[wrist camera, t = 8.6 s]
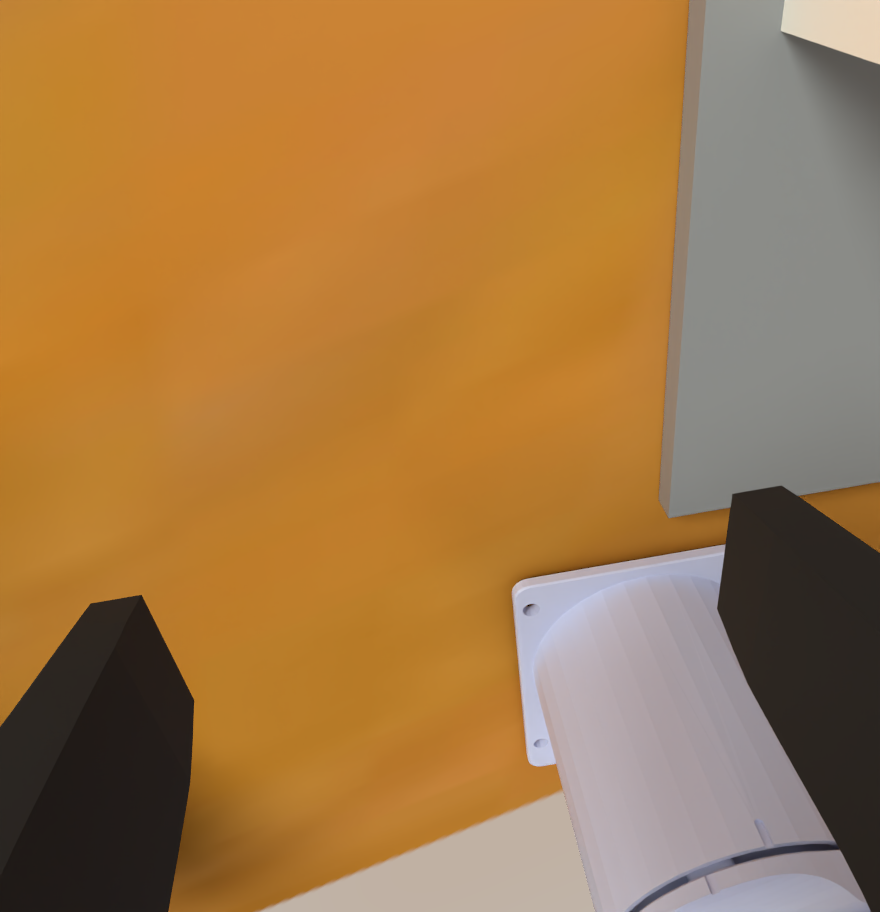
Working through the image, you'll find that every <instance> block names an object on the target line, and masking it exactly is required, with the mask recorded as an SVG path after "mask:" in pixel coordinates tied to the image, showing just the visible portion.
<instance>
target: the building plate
mask: <svg viewBox="0 0 880 912" xmlns="http://www.w3.org/2000/svg"><path fill="white" fill-rule="evenodd" d="M784 1H785V0H690V2H689V19H688V35H687V51H686V67H685V83H684V99H683V116H682V132H681V148H680V164H679V180H678V196H677V213H676V229H675V245H674V261H673V277H672V293H671V310H670V326H669V342H668V358H667V374H666V390H665V407H664V423H663V439H662V455H661V471H660V487H659V501H660V503H661V505H662V507H663V509H664V511H665V513H666V514H667V516H668V518H672V517H678V516H684V515H689V514H695V513H701V512H707V511H713V510H719V509H724V508H730V507H731V500H732V494H734V493H740V492H746V491H752V490H758V489H763V488H769V487H775V486H781V485H782V486H783V487H785V488H786V489H788V490H789V491H791V492H792V493H794V494H795V495H797V496H800V495H806V494H812V493H818V492H823V491H829V490H835V489H841V488H847V487H853V486H858V485H864V484H870V483H876V482H880V64H877V63H874V62H871V61H868V60H865V59H862V58H859V57H856V56H853V55H850V54H847V53H844V52H841V51H838V50H835V49H832V48H830V47H827V46H824V45H821V44H818V43H815V42H812V41H809V40H806V39H803V38H800V37H797V36H794V35H791V34H788V33H785V32H782V31H781V25H782V17H783V9H784Z"/></svg>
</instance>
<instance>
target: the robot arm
mask: <svg viewBox="0 0 880 912" xmlns="http://www.w3.org/2000/svg"><path fill="white" fill-rule="evenodd" d="M512 601H513V612H514V622H515V633H516V644H517V655H518V665H519V676H520V687H521V698H522V709H523V719H524V730H525V741H526V752H527V757H528V761H529V763H530V764H532V765H534V766H546V765H551V764H556V765H557V769H558V772H559V776H560V780H561V784H562V788H563V791H564V795H565V799H566V803H567V807H568V810H569V814H570V818H571V821H572V825H573V829H574V832H575V837H576V840H577V844H578V848H579V852H580V855H581V860H582V863H583V867H584V871H585V875H586V878H587V882H588V886H589V890H590V894H591V897H592V901H593V905H594V909H595V912H880V553H879V552H877V551H876V550H874V549H873V548H871V547H870V546H869V545H867V544H866V543H864V542H863V541H861V540H860V539H859V538H857V537H856V536H854V535H853V534H851V533H850V532H848V531H847V530H846V529H844V528H843V527H841V526H840V525H838V524H837V523H836V522H834V521H833V520H831V519H830V518H828V517H827V516H826V515H824V514H823V513H821V512H820V511H818V510H817V509H816V508H814V507H813V506H811V505H810V504H808V503H807V502H806V501H804V500H803V499H801V498H800V497H798V496H797V495H795V494H794V493H792V492H791V491H789V490H788V489H786V488H785V487H783V486H782V485H781V486H775V487H769V488H763V489H758V490H752V491H746V492H740V493H734V494H732V500H731V508H730V515H729V523H728V530H727V538H726V544H724V545H718V546H713V547H707V548H701V549H695V550H690V551H684V552H678V553H672V554H666V555H661V556H655V557H649V558H643V559H637V560H632V561H626V562H620V563H614V564H609V565H603V566H597V567H591V568H585V569H580V570H574V571H568V572H562V573H556V574H551V575H545V576H539V577H533V578H527V579H524V580H521V581H520V582H518V583H517V584H516V585H515V586H514V587H513V589H512ZM529 604H534V605H531V606H527V605H529ZM193 714H194V699H193V697H192V695H191V693H190V691H189V689H188V687H187V685H186V683H185V681H184V679H183V677H182V675H181V673H180V671H179V669H178V667H177V665H176V663H175V661H174V659H173V657H172V655H171V653H170V651H169V649H168V647H167V645H166V643H165V641H164V639H163V637H162V635H161V633H160V631H159V629H158V627H157V625H156V623H155V621H154V619H153V617H152V615H151V613H150V611H149V609H148V607H147V605H146V603H145V601H144V599H143V597H142V595H139V596H133V597H127V598H121V599H115V600H109V601H104V602H98V603H92V604H90V605H89V607H88V608H87V609H86V611H85V612H84V613H83V615H82V616H81V617H80V619H79V620H78V621H77V623H76V624H75V625H74V627H73V628H72V629H71V631H70V632H69V634H68V635H67V636H66V638H65V639H64V640H63V642H62V643H61V644H60V646H59V647H58V649H57V650H56V651H55V653H54V654H53V655H52V657H51V658H50V660H49V661H48V662H47V664H46V665H45V667H44V668H43V669H42V671H41V672H40V673H39V675H38V676H37V678H36V679H35V680H34V682H33V683H32V684H31V686H30V687H29V689H28V690H27V691H26V693H25V694H24V695H23V697H22V698H21V700H20V701H19V702H18V704H17V705H16V706H15V708H14V709H13V711H12V712H11V713H10V715H9V716H8V717H7V719H6V720H5V721H4V723H3V724H2V725H1V727H0V912H168V909H169V903H170V898H171V892H172V886H173V881H174V875H175V869H176V864H177V858H178V852H179V846H180V840H181V834H182V828H183V823H184V817H185V811H186V805H187V798H188V792H189V786H190V776H191V760H192V742H193Z"/></svg>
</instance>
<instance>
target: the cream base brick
mask: <svg viewBox="0 0 880 912" xmlns="http://www.w3.org/2000/svg"><path fill="white" fill-rule="evenodd" d="M781 31H782V32H785V33H788V34H791V35H794V36H797V37H800V38H803V39H806V40H809V41H812V42H815V43H818V44H821V45H824V46H827V47H830V48H832V49H835V50H838V51H841V52H844V53H847V54H850V55H853V56H856V57H859V58H862V59H865V60H868V61H871V62H874V63H877V64H880V0H785V1H784V9H783V17H782V25H781Z"/></svg>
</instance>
